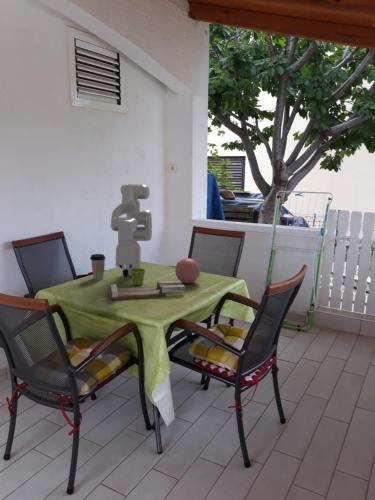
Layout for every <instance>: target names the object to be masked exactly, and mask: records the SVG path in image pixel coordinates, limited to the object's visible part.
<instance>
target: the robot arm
mask: <svg viewBox="0 0 375 500" xmlns="http://www.w3.org/2000/svg"><path fill="white" fill-rule="evenodd" d="M120 193H121V203H120V204H119V205H117V206H116V207H115V208H114V209H113V211H112V214H111V217H110V218H111V219H110V228H111V230H112V231H114V232H117V242H118V244H117V245H116V247H115V267H118V268H120V269H121V270H122V276H123V278H128V276H129V277H130V276H131V277H132V275H131V272H130V270H131V269H134V268H142V267H141V266H142V265H141V264H142V262H141V261H142V259H141V258H142V249H141V247H142V246H140V244H139V242H149V241H151V240H152V236H153V225H152V224H153V223H152V222H153V217H152V213H151V211H150V210H148V209H147V210H146V209H141V208H140V206H141V205H140V204H141V203H140V201H139V200H147V199H149V197H150V187H149V186H148V185H146V184H136V183H135V184H133V183H132V184H131V183H130V184H123V185H121V186H120ZM124 215H126V216H125V217H121V216H124Z"/></svg>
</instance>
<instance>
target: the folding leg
mask: <svg viewBox="0 0 375 500" xmlns="http://www.w3.org/2000/svg"><path fill="white" fill-rule="evenodd" d="M110 288H111V293H112V297H118V290H117V288H118V286H117V284H116V283H111V284H110Z"/></svg>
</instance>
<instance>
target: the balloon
mask: <svg viewBox="0 0 375 500" xmlns="http://www.w3.org/2000/svg"><path fill="white" fill-rule="evenodd" d="M174 269H175V270H174V273H175V276H176V279H177V280H178V281H181V282H182V284H192V283H194V282H196V281H197V280H198V278H199V277H200V274H201V267H200V265H199V263H198V262H197V260H196V259H193V258H189V257H188V258H186V257H185V258H183V259H181V260H179V261H177V263H176V265H175V268H174Z"/></svg>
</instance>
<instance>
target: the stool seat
mask: <svg viewBox="0 0 375 500" xmlns="http://www.w3.org/2000/svg"><path fill="white" fill-rule="evenodd" d="M117 290H118V297H112V293H111V287H109V288H108V295H109V300H110V301H119V300H120V301H121V300H130V299H131V300H134V299H136V300H137V299H150V298H151V299H152V298H153V299H155V298H165V297H166V293H185V292H186V286H185V285H184V284H183V282H181V281H180V280H170V281H169V280H168V281H167V280H166V281H158V282H156V285H152V286H149V285H148V286H132V287H131V286H129V287H117Z"/></svg>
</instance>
